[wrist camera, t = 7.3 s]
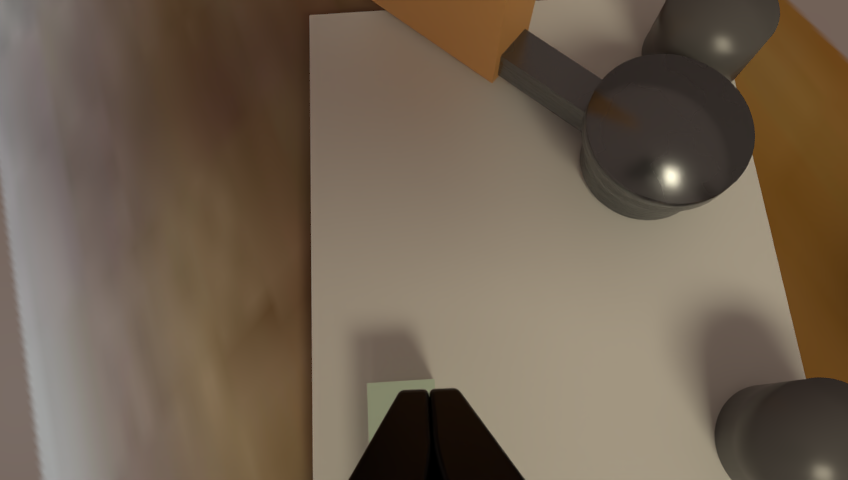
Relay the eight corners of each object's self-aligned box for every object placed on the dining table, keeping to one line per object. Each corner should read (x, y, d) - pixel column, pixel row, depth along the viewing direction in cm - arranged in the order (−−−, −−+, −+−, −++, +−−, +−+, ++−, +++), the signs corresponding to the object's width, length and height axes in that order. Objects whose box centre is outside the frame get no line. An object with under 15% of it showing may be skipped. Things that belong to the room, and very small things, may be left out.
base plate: (847, 608, 19) (958, 657, 15) (321, 642, 19) (291, 700, 15) (707, 8, 25) (758, -70, 21) (315, 33, 25) (292, -41, 21)
